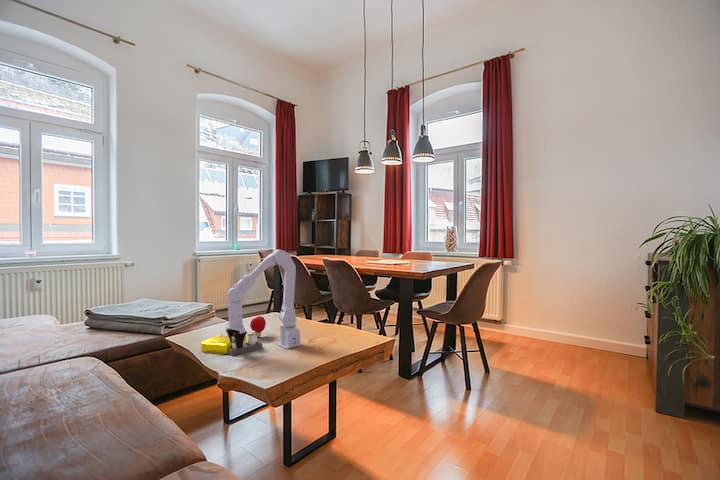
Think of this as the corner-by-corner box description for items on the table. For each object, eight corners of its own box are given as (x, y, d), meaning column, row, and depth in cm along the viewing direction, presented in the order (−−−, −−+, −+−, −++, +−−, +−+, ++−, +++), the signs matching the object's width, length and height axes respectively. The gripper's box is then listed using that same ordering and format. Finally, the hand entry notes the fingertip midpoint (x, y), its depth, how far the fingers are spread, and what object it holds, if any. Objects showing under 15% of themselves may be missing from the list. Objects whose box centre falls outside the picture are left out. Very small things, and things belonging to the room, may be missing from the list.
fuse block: (262, 348, 160) (262, 343, 160) (231, 355, 151) (231, 350, 151) (256, 345, 165) (256, 340, 165) (226, 352, 156) (226, 347, 156)
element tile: (199, 352, 158) (198, 341, 158) (221, 342, 172) (220, 332, 172) (227, 355, 154) (227, 344, 154) (248, 344, 168) (247, 334, 168)
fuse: (257, 348, 160) (257, 333, 160) (249, 350, 158) (249, 334, 157) (254, 346, 163) (253, 331, 163) (246, 348, 160) (245, 333, 160)
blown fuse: (242, 352, 155) (242, 336, 155) (234, 354, 153) (233, 338, 153) (239, 350, 158) (238, 334, 158) (231, 352, 156) (230, 336, 156)
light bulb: (260, 340, 172) (259, 319, 171) (247, 339, 173) (246, 319, 173) (269, 334, 181) (268, 315, 181) (256, 334, 182) (255, 314, 182)
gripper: (220, 314, 158) (221, 344, 158) (232, 320, 147) (233, 352, 147) (235, 311, 163) (236, 341, 163) (249, 317, 152) (250, 348, 152)
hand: (236, 346), depth 156 cm, fingers open, 6 cm apart
